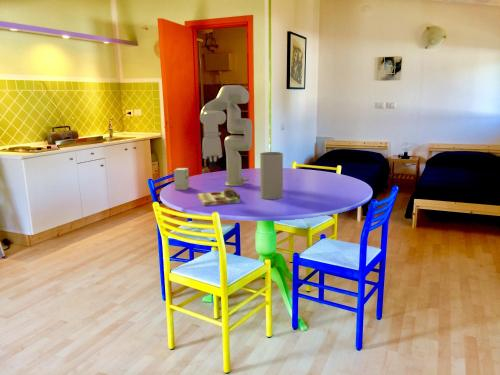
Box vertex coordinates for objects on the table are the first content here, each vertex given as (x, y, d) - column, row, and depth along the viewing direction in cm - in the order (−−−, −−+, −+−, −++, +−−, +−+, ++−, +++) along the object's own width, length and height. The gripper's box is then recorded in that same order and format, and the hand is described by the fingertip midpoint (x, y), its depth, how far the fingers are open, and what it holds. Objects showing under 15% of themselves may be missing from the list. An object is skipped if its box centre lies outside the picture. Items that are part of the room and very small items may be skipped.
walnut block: (231, 194, 235) (231, 188, 235) (233, 196, 231) (233, 190, 230) (223, 195, 234) (223, 189, 233) (225, 196, 230) (225, 190, 229)
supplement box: (185, 190, 257) (184, 170, 254) (174, 189, 258) (173, 169, 255) (189, 187, 264) (188, 167, 261) (178, 187, 265) (177, 167, 262)
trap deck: (231, 194, 244) (231, 187, 243) (240, 202, 226) (239, 195, 225) (197, 197, 239) (197, 190, 238) (203, 205, 220) (203, 198, 219)
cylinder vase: (268, 193, 244) (268, 151, 238) (286, 196, 237) (286, 152, 231) (256, 198, 234) (255, 154, 228) (275, 201, 227) (275, 155, 221)
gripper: (223, 133, 229) (224, 166, 234) (196, 135, 225) (198, 168, 230) (226, 135, 222) (227, 168, 227) (198, 136, 218) (200, 170, 223)
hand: (213, 168), depth 228 cm, fingers closed
